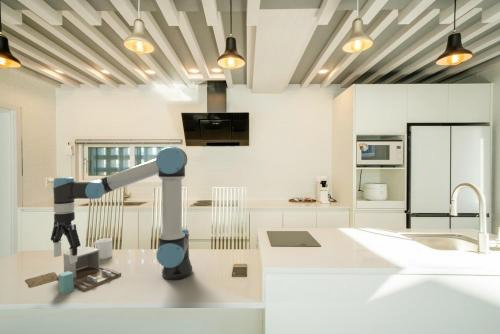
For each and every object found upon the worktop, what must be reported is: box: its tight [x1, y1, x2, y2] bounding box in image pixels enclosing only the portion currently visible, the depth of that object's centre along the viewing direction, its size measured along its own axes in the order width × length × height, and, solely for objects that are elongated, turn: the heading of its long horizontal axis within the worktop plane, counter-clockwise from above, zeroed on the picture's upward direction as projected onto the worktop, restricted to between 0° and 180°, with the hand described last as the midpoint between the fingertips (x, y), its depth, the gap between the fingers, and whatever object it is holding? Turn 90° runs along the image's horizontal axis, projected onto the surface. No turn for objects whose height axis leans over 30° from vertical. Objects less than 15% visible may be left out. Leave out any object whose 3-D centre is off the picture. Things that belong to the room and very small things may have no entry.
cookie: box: [24, 271, 59, 289], centre depth 130 cm, size 12×12×1 cm
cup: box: [91, 237, 113, 260], centre depth 160 cm, size 8×12×10 cm
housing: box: [63, 245, 101, 278], centre depth 136 cm, size 10×12×10 cm
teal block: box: [58, 271, 75, 295], centre depth 119 cm, size 4×4×8 cm
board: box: [57, 265, 122, 292], centre depth 133 cm, size 24×18×3 cm
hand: (65, 259), depth 119 cm, fingers open, 13 cm apart
